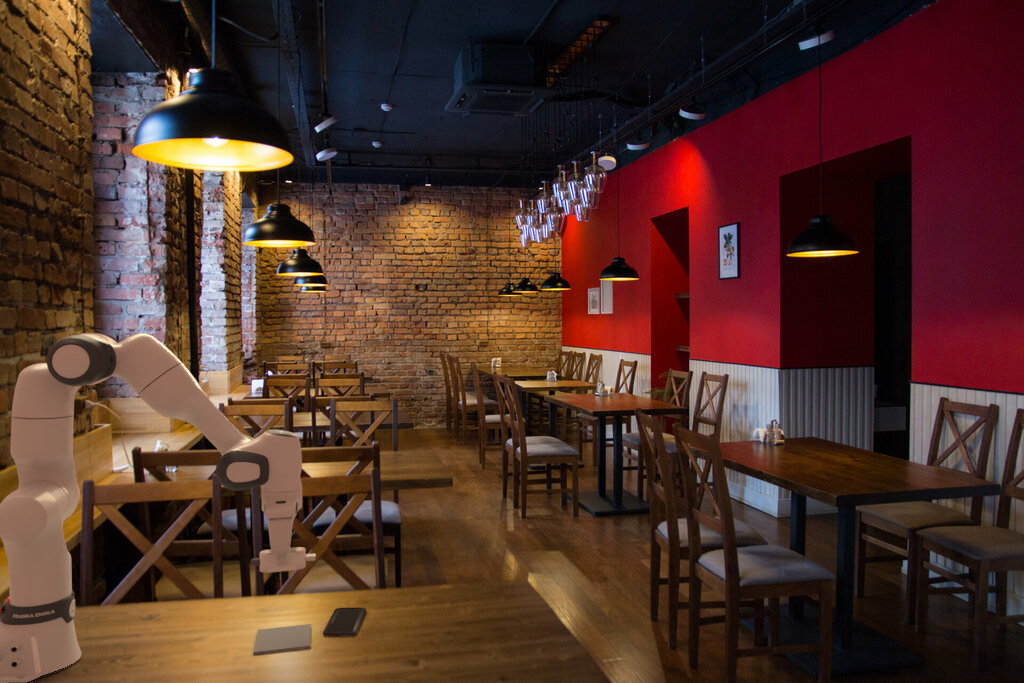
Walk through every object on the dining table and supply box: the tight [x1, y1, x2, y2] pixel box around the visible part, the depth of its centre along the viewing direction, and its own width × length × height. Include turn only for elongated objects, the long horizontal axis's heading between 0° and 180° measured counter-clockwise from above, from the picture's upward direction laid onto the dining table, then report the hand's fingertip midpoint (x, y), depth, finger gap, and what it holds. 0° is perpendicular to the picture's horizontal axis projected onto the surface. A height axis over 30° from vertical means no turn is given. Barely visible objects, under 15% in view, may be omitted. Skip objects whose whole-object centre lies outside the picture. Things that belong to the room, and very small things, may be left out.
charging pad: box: [252, 623, 312, 656], centre depth 163 cm, size 12×12×1 cm
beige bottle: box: [250, 546, 317, 574], centre depth 163 cm, size 14×4×4 cm, turn 105°
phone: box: [322, 607, 367, 637], centre depth 173 cm, size 8×1×15 cm
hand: (282, 561), depth 163 cm, fingers closed on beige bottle, 4 cm apart
